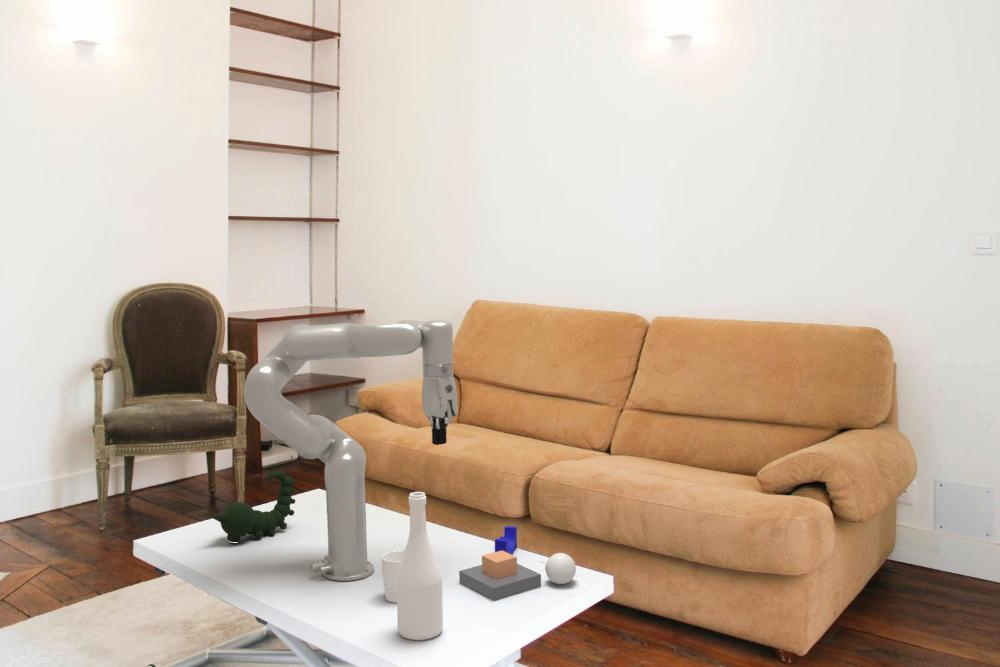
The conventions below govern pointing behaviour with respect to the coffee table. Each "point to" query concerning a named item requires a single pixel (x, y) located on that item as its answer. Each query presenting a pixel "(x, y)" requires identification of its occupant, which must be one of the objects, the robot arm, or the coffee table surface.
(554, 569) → the white piece
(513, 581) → the flat gray square plate
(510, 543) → the cable clip
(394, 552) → the white cup
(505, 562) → the tan block
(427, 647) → the coffee table surface
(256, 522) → the toy figurine
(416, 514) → the wine bottle
